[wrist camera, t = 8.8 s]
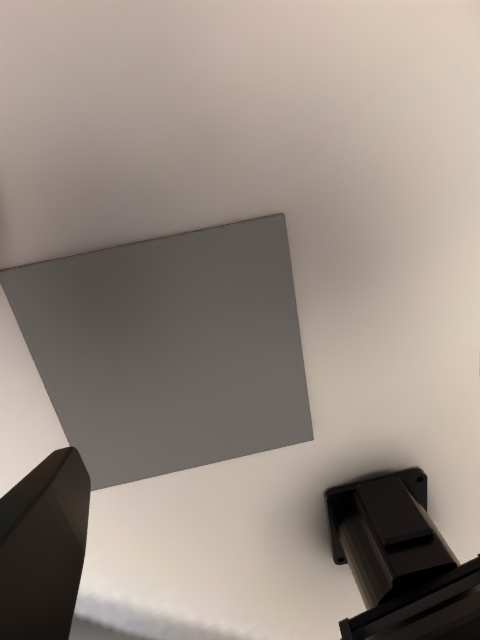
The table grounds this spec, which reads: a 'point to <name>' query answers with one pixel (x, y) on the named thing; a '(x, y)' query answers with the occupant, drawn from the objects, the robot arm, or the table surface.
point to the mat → (169, 349)
